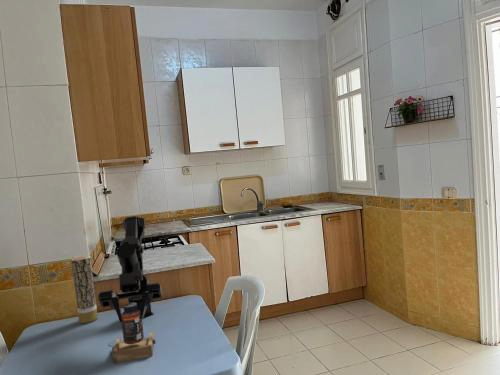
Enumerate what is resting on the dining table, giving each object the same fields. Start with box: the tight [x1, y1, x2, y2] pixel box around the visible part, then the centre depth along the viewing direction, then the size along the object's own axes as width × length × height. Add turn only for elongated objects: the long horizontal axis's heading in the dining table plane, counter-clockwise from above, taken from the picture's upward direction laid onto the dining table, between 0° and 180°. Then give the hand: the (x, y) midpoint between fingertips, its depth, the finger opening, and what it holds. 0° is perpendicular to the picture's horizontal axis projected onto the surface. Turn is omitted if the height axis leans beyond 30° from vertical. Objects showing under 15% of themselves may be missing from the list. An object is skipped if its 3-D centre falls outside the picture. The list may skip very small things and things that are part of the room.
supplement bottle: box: [121, 302, 145, 344], centre depth 116 cm, size 6×6×11 cm
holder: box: [111, 330, 157, 364], centre depth 115 cm, size 11×13×3 cm
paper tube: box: [71, 254, 98, 324], centre depth 146 cm, size 7×7×25 cm
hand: (131, 320), depth 114 cm, fingers closed on supplement bottle, 6 cm apart
